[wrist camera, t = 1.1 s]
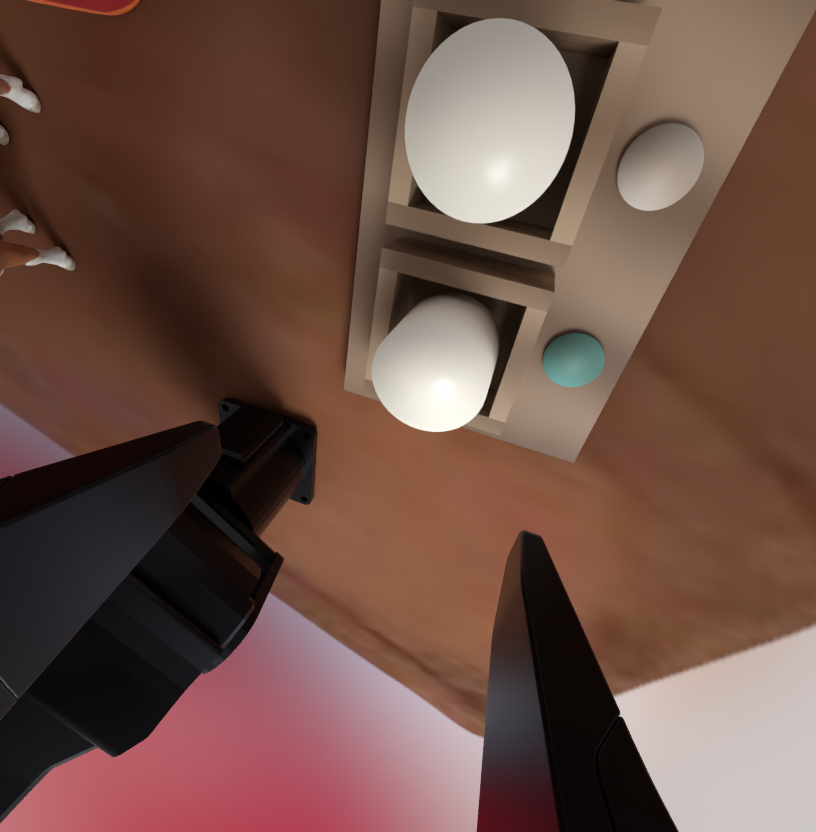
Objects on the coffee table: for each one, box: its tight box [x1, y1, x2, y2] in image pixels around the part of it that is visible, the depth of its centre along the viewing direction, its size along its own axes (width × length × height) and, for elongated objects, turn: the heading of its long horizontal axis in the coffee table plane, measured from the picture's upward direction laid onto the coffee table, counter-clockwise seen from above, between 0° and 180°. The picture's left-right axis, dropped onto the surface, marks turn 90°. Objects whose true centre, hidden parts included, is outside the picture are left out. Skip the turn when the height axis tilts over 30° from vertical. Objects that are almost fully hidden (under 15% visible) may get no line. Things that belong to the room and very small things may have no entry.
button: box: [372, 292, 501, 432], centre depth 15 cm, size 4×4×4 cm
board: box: [344, 0, 816, 463], centre depth 13 cm, size 24×12×4 cm, turn 170°
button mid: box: [405, 18, 575, 223], centre depth 11 cm, size 4×4×4 cm
